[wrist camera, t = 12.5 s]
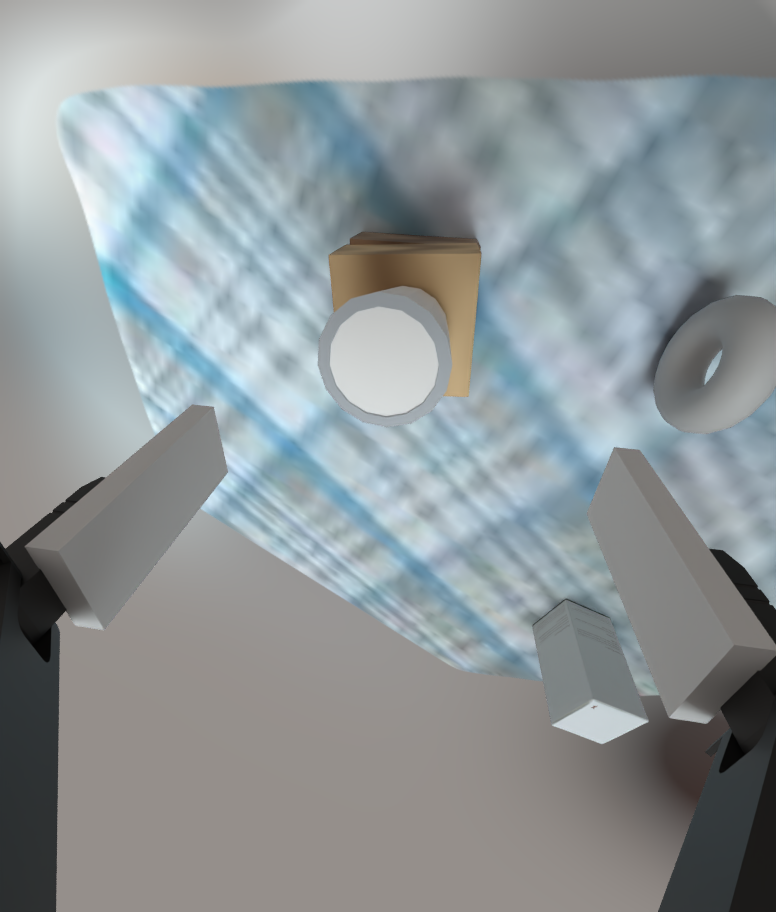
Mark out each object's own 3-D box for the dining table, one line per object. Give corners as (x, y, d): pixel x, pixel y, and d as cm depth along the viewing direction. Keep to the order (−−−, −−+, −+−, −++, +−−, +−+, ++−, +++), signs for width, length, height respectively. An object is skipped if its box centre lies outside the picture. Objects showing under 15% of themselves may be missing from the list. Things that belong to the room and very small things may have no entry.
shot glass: (460, 271, 24) (453, 289, 18) (457, 384, 27) (451, 430, 21) (347, 277, 25) (306, 294, 19) (358, 383, 29) (326, 426, 23)
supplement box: (530, 625, 57) (548, 725, 46) (566, 597, 53) (594, 699, 42) (574, 644, 58) (601, 746, 47) (612, 618, 54) (652, 723, 43)
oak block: (476, 242, 28) (481, 253, 24) (466, 369, 33) (468, 396, 28) (346, 244, 29) (328, 254, 25) (355, 367, 34) (341, 393, 30)
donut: (666, 402, 37) (729, 465, 29) (629, 393, 37) (681, 454, 29) (741, 287, 31) (846, 324, 23) (697, 276, 31) (786, 310, 23)
